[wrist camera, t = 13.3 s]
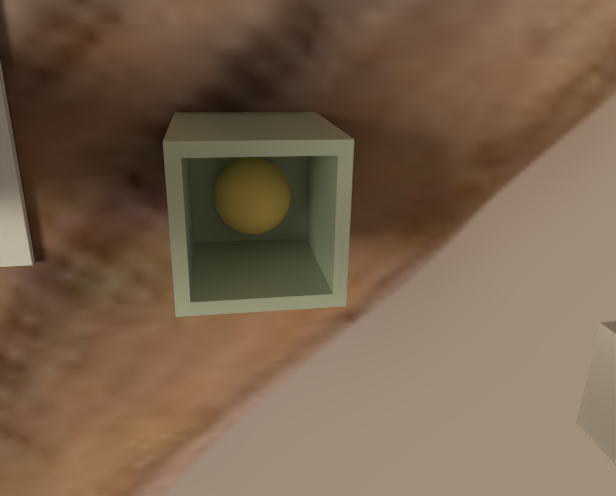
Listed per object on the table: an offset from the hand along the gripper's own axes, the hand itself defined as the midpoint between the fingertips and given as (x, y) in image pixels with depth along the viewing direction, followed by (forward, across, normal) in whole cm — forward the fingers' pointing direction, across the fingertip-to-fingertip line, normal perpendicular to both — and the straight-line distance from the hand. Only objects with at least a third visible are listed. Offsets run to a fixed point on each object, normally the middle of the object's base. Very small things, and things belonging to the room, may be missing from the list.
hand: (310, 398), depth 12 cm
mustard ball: (+18, 0, 0) cm, 18 cm away
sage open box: (+19, 0, 0) cm, 19 cm away
